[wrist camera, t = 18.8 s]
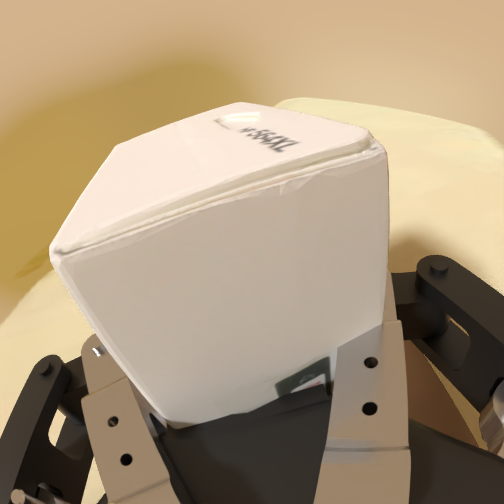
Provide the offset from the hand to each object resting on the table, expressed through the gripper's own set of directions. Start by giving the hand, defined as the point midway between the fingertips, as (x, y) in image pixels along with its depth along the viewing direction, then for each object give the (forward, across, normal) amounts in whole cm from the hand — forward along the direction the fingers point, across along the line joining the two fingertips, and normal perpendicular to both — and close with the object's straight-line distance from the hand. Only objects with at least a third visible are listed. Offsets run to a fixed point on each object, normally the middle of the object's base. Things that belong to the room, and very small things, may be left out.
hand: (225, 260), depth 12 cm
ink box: (-3, 0, +7) cm, 7 cm away
